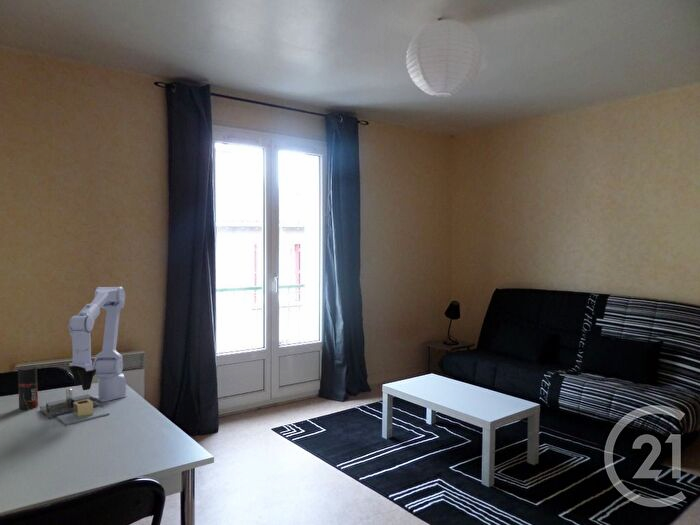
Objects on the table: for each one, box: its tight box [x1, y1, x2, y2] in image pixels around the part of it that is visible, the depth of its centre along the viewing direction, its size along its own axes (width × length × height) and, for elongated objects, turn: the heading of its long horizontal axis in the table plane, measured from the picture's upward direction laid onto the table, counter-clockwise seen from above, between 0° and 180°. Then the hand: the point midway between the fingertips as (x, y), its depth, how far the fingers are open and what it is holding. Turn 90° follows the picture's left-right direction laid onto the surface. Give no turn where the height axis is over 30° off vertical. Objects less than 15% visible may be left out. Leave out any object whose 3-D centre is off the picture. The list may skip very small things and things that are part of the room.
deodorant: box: [17, 365, 39, 411], centre depth 183 cm, size 6×6×15 cm
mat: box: [56, 406, 110, 426], centre depth 174 cm, size 14×10×1 cm
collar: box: [73, 399, 93, 418], centre depth 174 cm, size 5×5×4 cm
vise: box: [39, 387, 99, 420], centre depth 181 cm, size 16×12×8 cm
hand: (82, 387), depth 174 cm, fingers open, 7 cm apart
